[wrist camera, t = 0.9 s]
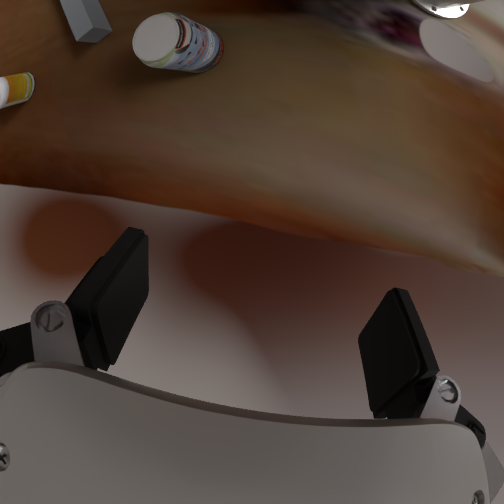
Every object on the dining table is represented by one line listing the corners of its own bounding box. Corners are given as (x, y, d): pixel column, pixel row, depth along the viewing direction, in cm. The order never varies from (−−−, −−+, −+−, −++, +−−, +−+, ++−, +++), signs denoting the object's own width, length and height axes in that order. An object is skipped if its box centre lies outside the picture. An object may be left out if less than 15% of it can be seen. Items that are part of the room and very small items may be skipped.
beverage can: (223, 73, 30) (199, 67, 20) (167, 73, 30) (123, 72, 20) (228, 28, 27) (206, 4, 17) (171, 30, 27) (128, 13, 17)
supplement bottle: (31, 66, 28) (-11, 72, 20) (38, 90, 30) (-4, 100, 22) (14, 83, 29) (-26, 93, 21) (21, 107, 32) (-19, 120, 23)
